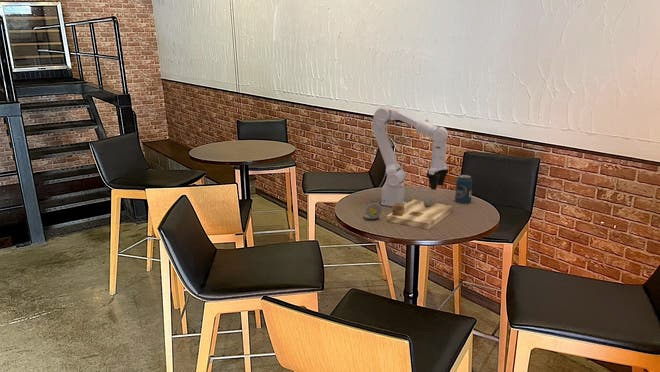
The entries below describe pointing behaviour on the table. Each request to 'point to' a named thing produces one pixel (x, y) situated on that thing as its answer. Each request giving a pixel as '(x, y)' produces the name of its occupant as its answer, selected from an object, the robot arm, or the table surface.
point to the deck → (421, 214)
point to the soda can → (463, 189)
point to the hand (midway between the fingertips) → (436, 187)
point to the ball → (427, 202)
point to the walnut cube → (398, 209)
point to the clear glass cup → (373, 210)
